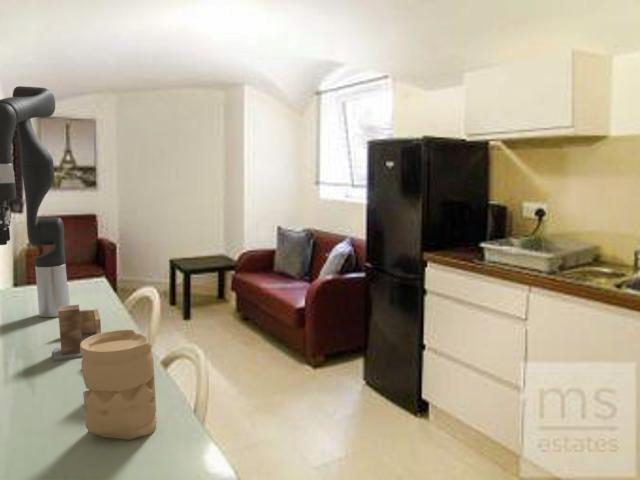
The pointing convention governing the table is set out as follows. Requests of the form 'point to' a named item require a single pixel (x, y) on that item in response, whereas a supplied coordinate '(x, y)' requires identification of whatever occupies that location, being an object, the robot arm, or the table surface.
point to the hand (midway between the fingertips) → (3, 242)
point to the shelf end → (90, 321)
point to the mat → (59, 355)
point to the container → (119, 384)
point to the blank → (70, 329)
